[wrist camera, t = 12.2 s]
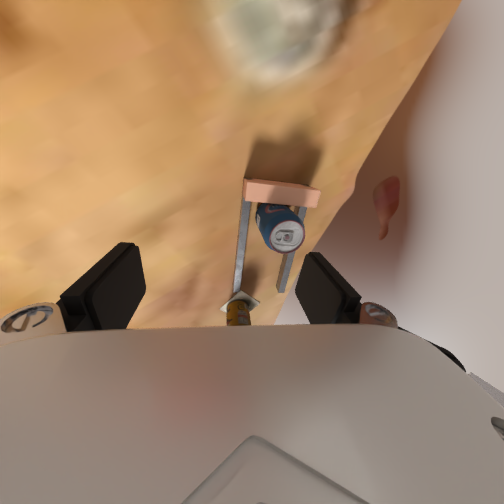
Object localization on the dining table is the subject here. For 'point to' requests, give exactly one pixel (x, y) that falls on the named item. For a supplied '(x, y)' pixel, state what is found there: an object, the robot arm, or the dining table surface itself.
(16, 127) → the dining table surface
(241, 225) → the guide channel
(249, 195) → the stop block
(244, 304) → the condiment
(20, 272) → the dining table surface
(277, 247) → the soda can
